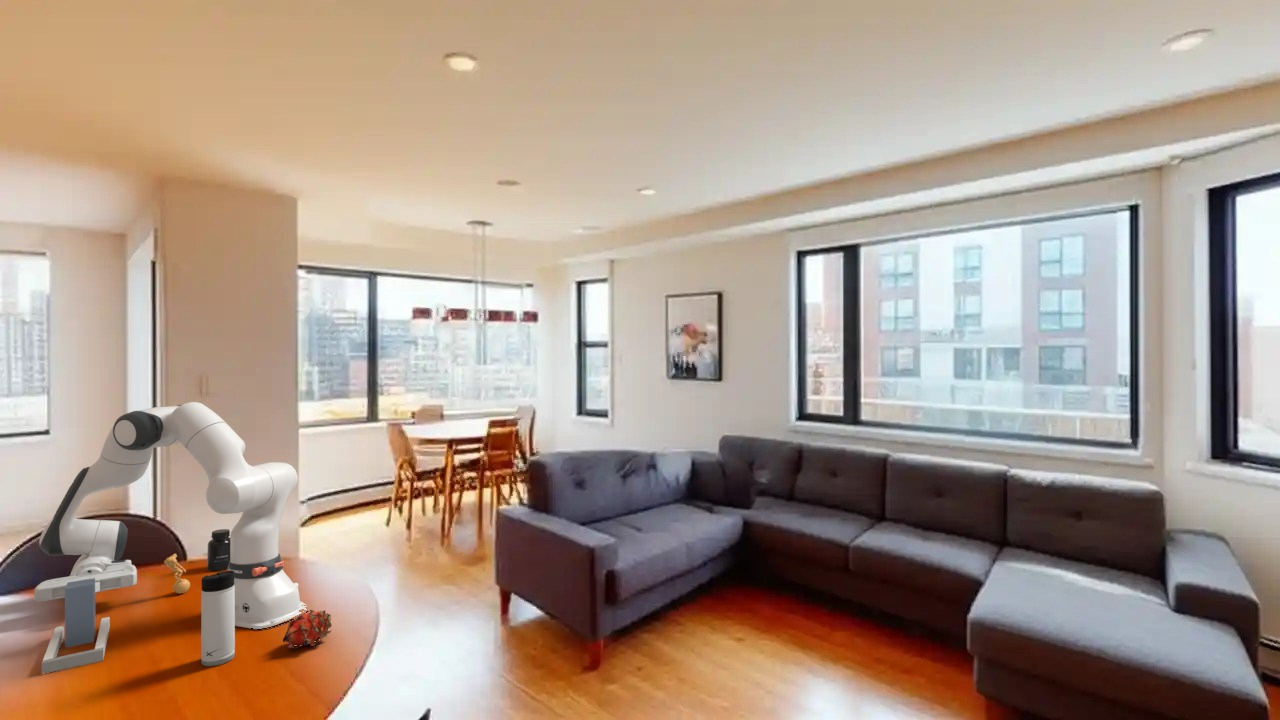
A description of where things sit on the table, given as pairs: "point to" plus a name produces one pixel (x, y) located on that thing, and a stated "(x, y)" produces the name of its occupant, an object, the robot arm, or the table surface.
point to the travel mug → (218, 618)
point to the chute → (77, 659)
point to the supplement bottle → (219, 550)
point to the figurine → (180, 584)
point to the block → (79, 612)
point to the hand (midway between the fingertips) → (85, 593)
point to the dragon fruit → (308, 628)
